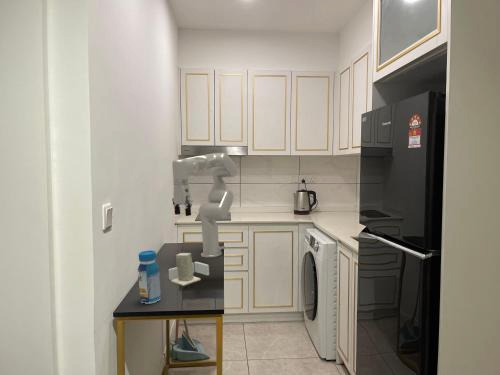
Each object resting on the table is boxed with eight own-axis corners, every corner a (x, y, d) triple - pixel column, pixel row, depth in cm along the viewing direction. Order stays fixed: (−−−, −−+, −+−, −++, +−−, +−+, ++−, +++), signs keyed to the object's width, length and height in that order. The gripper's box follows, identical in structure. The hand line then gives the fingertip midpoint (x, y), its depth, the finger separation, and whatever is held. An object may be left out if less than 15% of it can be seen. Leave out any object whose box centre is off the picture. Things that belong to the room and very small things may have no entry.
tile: (188, 275, 168) (188, 274, 168) (200, 279, 161) (200, 278, 161) (171, 281, 161) (170, 280, 161) (183, 286, 154) (183, 284, 154)
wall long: (192, 272, 174) (192, 262, 174) (194, 272, 173) (193, 262, 173) (169, 279, 164) (168, 269, 164) (170, 280, 163) (169, 269, 163)
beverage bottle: (159, 303, 135) (155, 254, 134) (137, 305, 135) (133, 255, 133) (163, 295, 144) (159, 249, 142) (142, 297, 143) (139, 250, 142)
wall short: (196, 271, 175) (196, 261, 175) (209, 274, 168) (208, 264, 168) (195, 271, 174) (194, 262, 174) (207, 275, 167) (206, 265, 167)
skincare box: (193, 278, 162) (192, 252, 162) (189, 281, 158) (187, 255, 157) (182, 277, 165) (180, 252, 164) (177, 280, 160) (175, 254, 160)
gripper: (196, 182, 177) (198, 215, 178) (177, 182, 189) (179, 213, 190) (184, 183, 171) (186, 217, 172) (165, 183, 183) (167, 215, 184)
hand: (182, 215), depth 181 cm, fingers open, 9 cm apart
